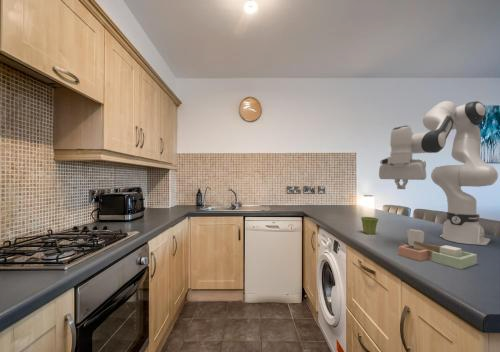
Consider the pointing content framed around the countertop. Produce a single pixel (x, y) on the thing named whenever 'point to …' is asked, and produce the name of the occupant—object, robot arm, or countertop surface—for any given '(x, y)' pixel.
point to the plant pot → (369, 224)
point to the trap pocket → (412, 253)
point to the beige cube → (415, 236)
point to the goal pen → (455, 260)
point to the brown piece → (425, 248)
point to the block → (451, 251)
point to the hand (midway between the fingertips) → (401, 189)
